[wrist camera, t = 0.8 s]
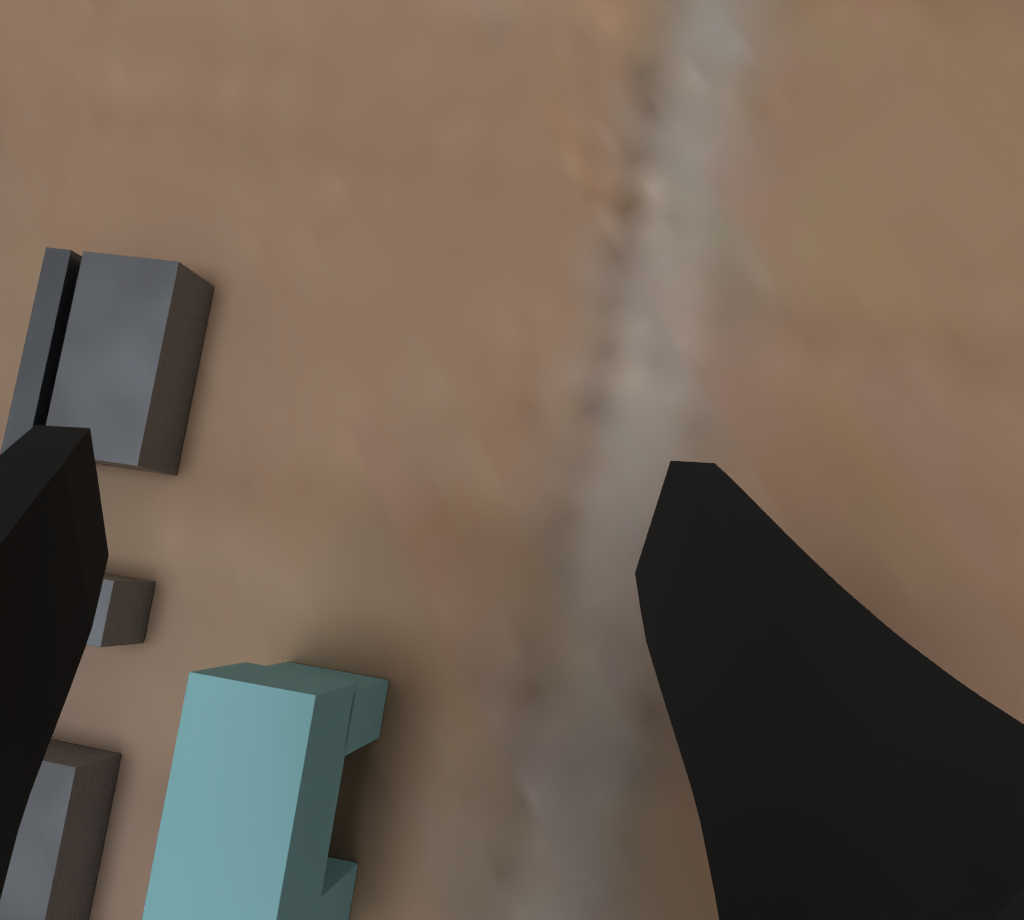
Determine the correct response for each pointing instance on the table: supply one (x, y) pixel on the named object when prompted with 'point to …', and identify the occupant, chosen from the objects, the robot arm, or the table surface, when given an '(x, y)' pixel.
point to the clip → (260, 794)
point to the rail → (116, 442)
